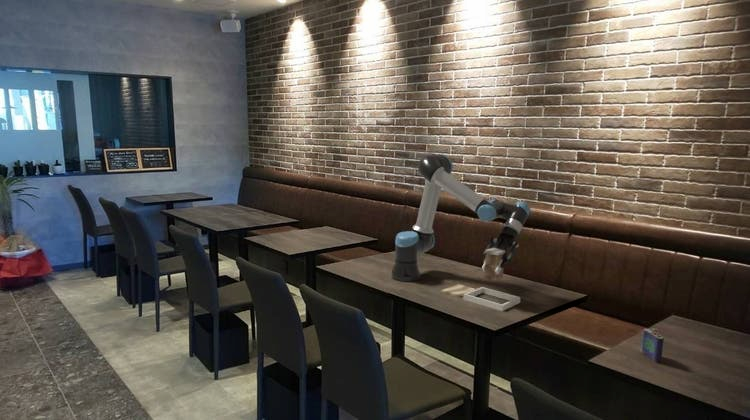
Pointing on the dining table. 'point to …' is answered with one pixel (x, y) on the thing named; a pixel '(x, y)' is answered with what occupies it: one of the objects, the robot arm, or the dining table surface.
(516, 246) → the robot arm
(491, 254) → the canister
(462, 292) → the board
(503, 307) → the white rectangular frame
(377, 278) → the dining table surface
